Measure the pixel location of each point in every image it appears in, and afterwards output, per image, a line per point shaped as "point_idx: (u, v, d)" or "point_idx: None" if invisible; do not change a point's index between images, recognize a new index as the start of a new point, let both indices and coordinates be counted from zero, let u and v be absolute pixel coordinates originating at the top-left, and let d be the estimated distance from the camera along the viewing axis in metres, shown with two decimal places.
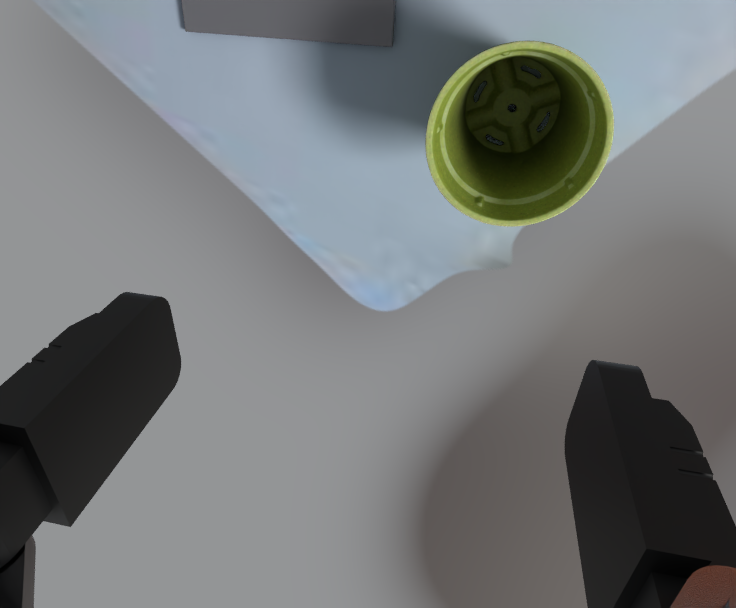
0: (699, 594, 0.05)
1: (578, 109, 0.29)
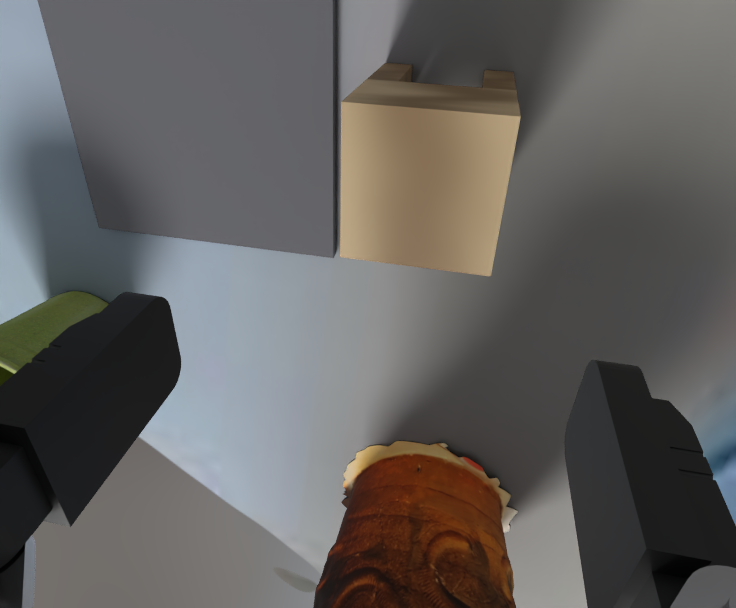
0: (699, 594, 0.05)
1: None
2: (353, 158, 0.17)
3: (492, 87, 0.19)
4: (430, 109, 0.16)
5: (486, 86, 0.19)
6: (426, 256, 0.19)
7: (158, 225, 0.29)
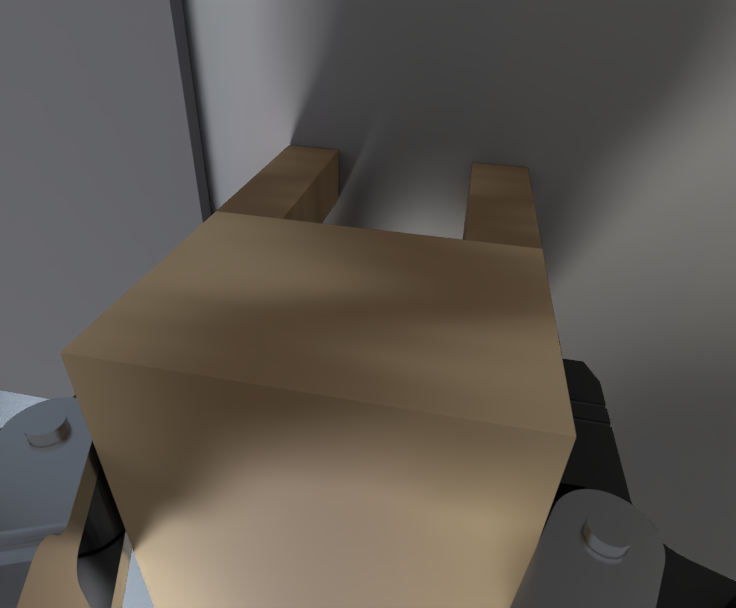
0: (566, 511, 0.06)
1: None
2: (130, 464, 0.07)
3: (488, 236, 0.09)
4: (305, 391, 0.05)
5: (474, 233, 0.09)
6: None
7: None
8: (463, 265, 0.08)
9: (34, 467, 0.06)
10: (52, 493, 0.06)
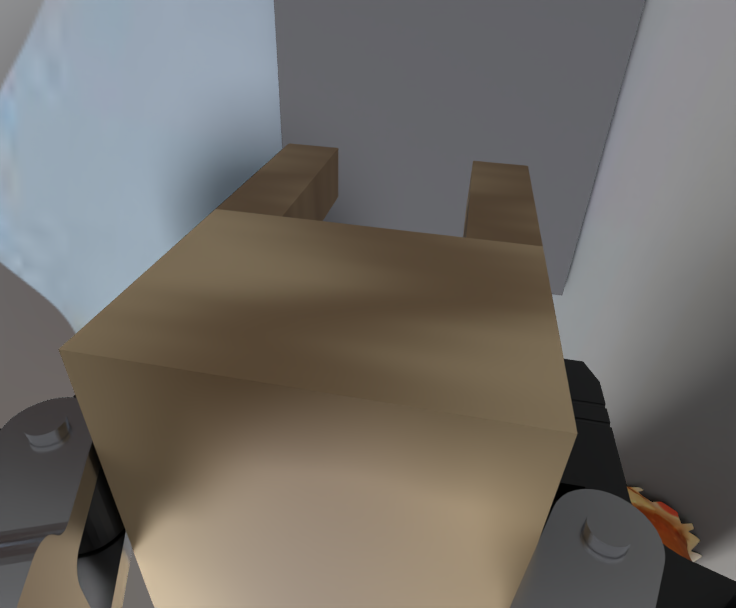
0: (565, 511, 0.06)
1: None
2: (129, 462, 0.07)
3: (488, 234, 0.09)
4: (305, 388, 0.05)
5: (475, 230, 0.09)
6: None
7: None
8: (463, 263, 0.08)
9: (33, 467, 0.06)
10: (53, 493, 0.06)
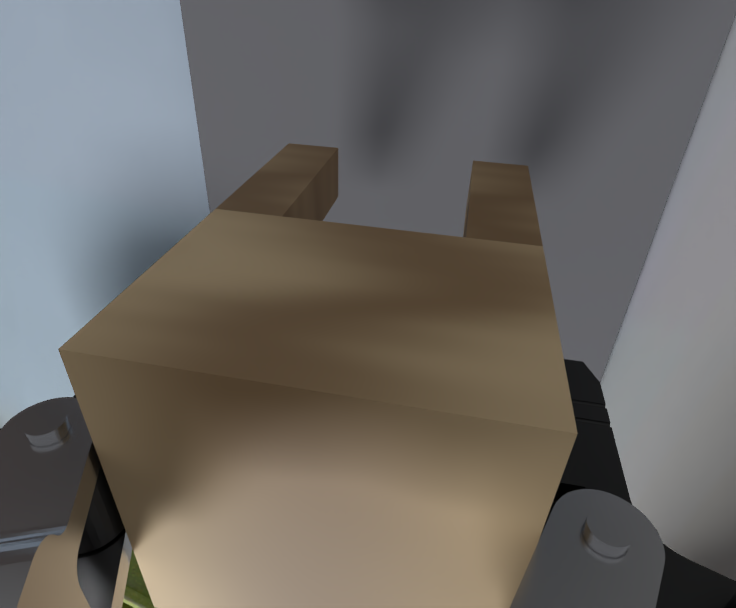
0: (565, 511, 0.06)
1: None
2: (129, 462, 0.07)
3: (488, 234, 0.09)
4: (305, 388, 0.05)
5: (475, 230, 0.09)
6: None
7: None
8: (463, 262, 0.08)
9: (34, 467, 0.06)
10: (52, 493, 0.06)
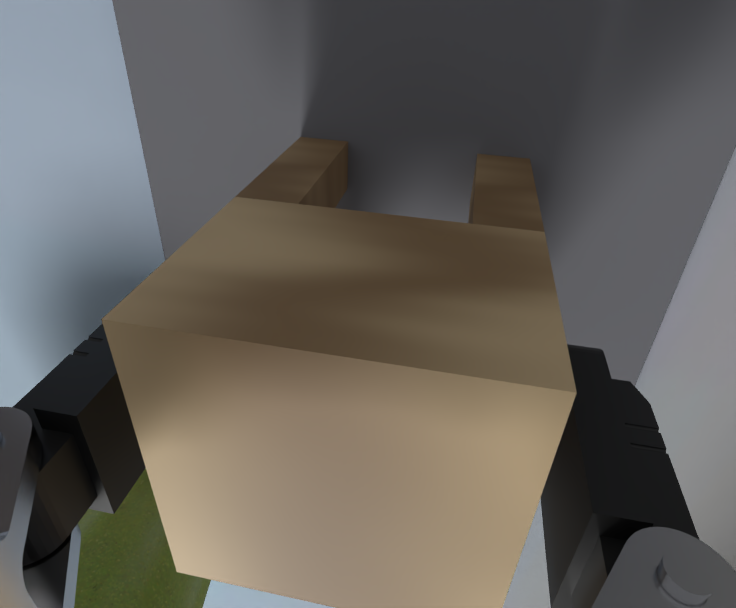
0: (637, 552, 0.06)
1: None
2: (161, 428, 0.07)
3: (493, 220, 0.09)
4: (328, 353, 0.06)
5: (480, 217, 0.09)
6: (351, 596, 0.09)
7: None
8: (470, 246, 0.08)
9: None
10: None
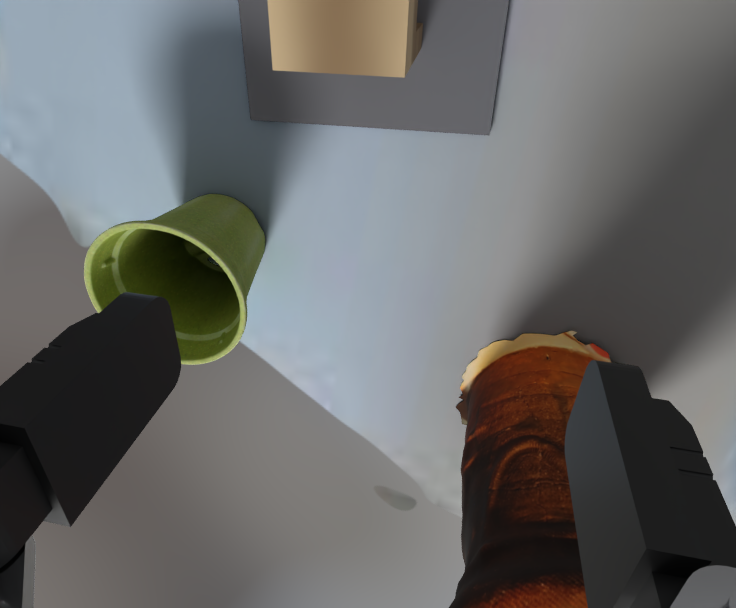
0: (699, 594, 0.05)
1: (219, 312, 0.34)
2: None
3: None
4: None
5: None
6: (347, 61, 0.21)
7: (313, 112, 0.30)
8: None
9: None
10: None
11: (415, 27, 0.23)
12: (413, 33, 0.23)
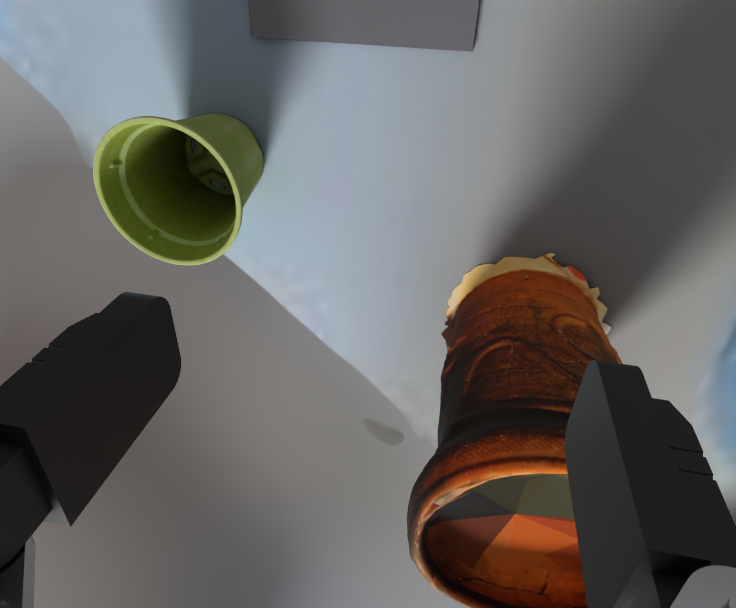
0: (699, 594, 0.05)
1: (217, 223, 0.37)
2: None
3: None
4: None
5: None
6: None
7: (309, 29, 0.33)
8: None
9: None
10: None
11: None
12: None
